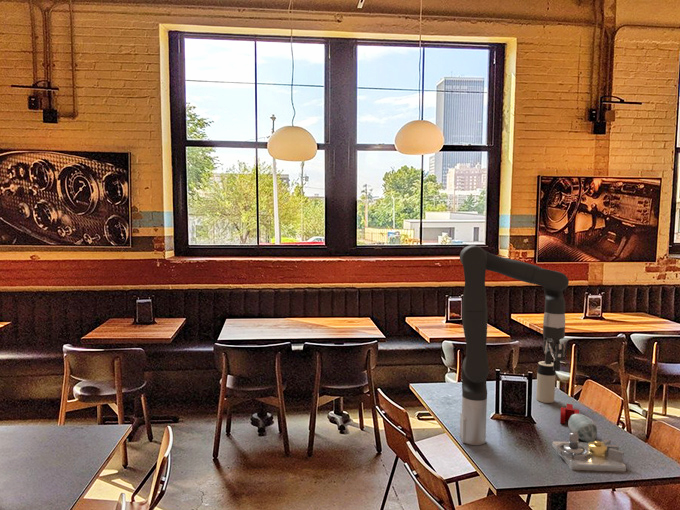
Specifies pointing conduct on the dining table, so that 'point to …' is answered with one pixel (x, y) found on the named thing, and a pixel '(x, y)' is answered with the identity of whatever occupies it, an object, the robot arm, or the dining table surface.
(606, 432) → the dining table surface
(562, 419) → the mechanical linkage
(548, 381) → the travel mug
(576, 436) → the silver knob
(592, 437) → the streaked stone egg
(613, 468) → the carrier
